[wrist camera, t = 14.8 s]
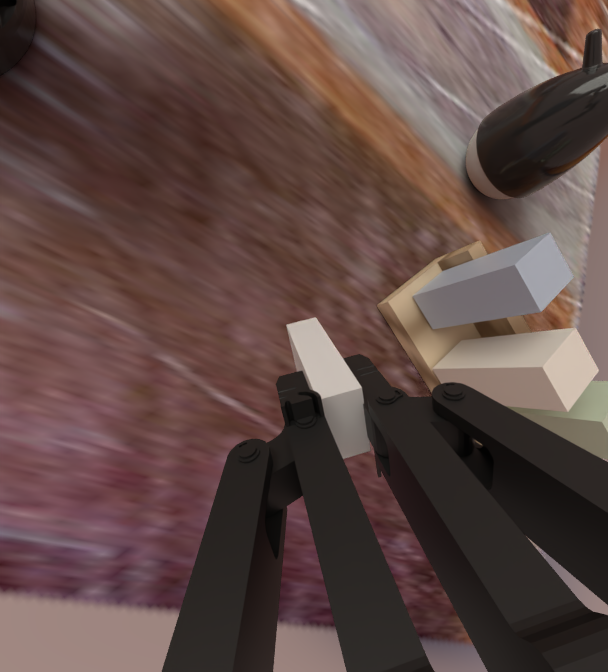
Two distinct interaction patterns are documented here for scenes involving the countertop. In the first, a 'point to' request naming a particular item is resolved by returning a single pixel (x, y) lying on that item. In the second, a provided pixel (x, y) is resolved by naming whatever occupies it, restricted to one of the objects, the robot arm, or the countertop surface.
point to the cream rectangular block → (523, 368)
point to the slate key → (496, 285)
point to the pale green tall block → (579, 419)
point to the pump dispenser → (542, 130)
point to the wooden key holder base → (437, 343)
